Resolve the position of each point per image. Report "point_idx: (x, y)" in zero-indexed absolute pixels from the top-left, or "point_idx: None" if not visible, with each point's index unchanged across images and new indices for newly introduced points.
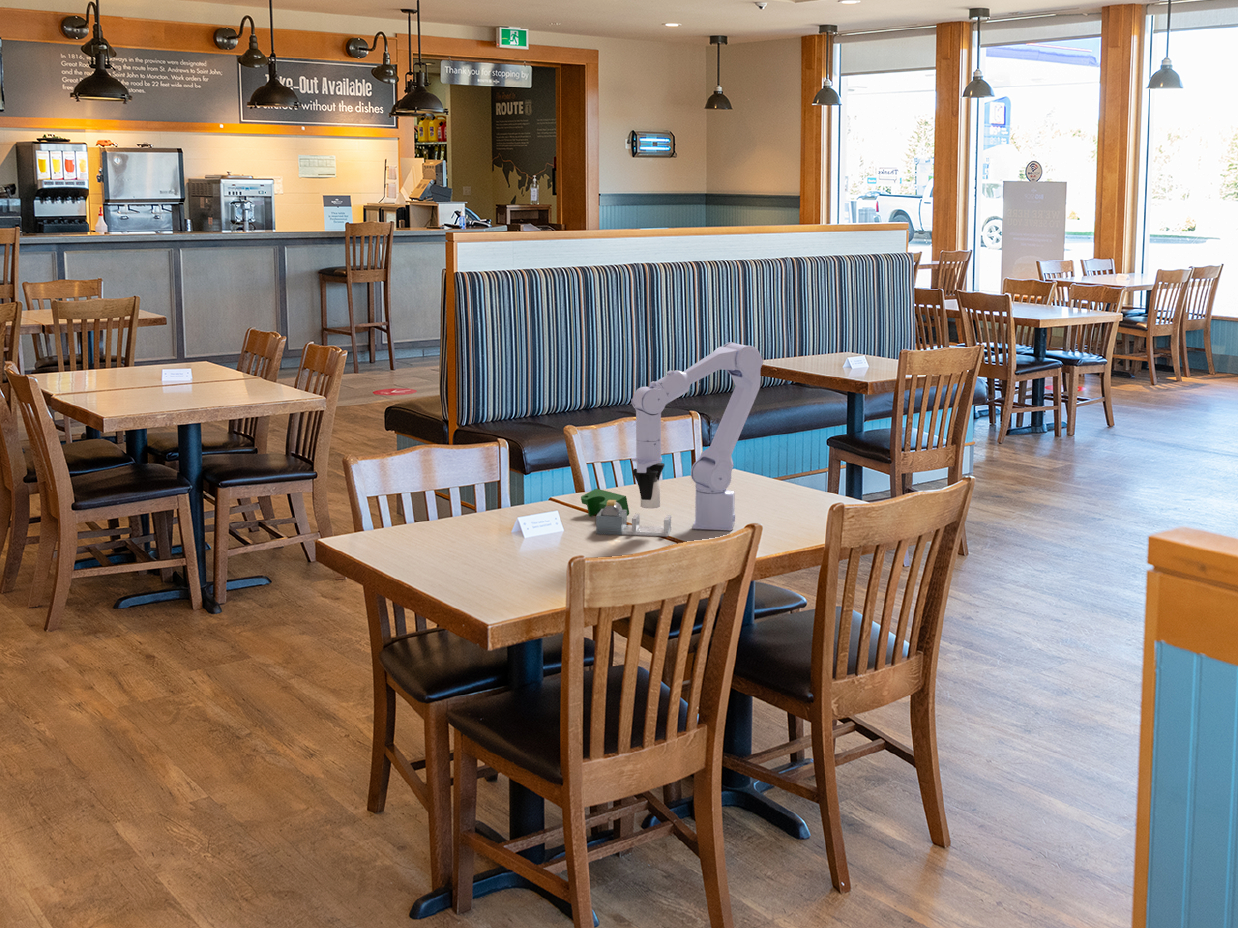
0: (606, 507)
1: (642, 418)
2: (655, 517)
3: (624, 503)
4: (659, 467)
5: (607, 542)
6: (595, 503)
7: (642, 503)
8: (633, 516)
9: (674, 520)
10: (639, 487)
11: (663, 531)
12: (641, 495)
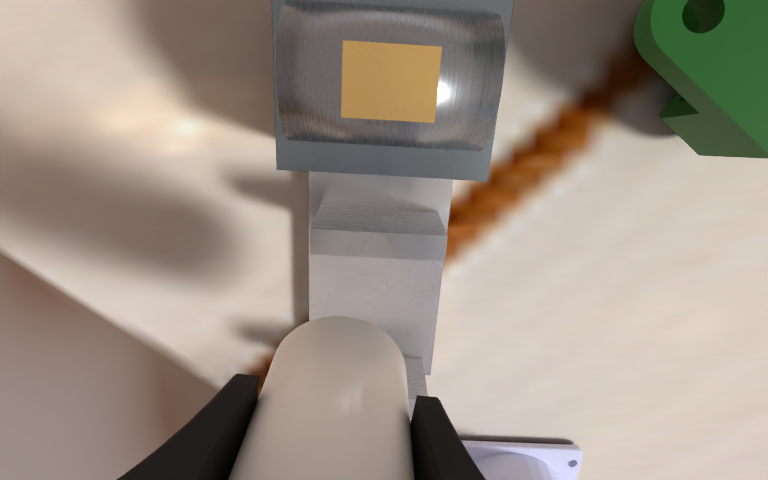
0: (290, 46)
1: None
2: (676, 281)
3: (721, 137)
4: None
5: (132, 83)
6: None
7: (283, 349)
8: (366, 232)
9: (606, 365)
10: (168, 444)
11: None
12: (219, 396)
